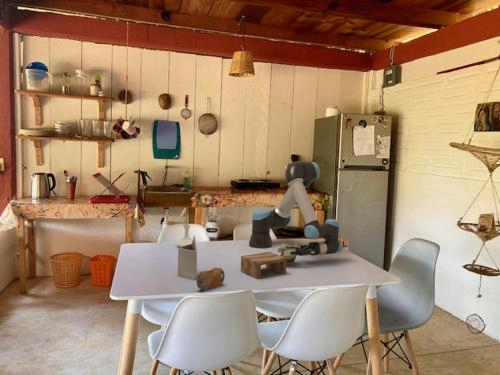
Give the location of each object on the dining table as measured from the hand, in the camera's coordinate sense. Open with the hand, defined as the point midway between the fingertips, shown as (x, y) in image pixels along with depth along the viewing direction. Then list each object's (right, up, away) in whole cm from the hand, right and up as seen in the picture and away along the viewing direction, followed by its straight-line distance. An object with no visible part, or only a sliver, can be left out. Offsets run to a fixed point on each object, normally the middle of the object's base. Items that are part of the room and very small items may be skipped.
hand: (281, 251), depth 214 cm
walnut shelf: (-10, -9, -12) cm, 18 cm away
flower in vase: (-57, -3, +37) cm, 68 cm away
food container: (+2, -6, +4) cm, 7 cm away
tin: (-34, -10, -36) cm, 51 cm away
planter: (-48, -9, -19) cm, 52 cm away
